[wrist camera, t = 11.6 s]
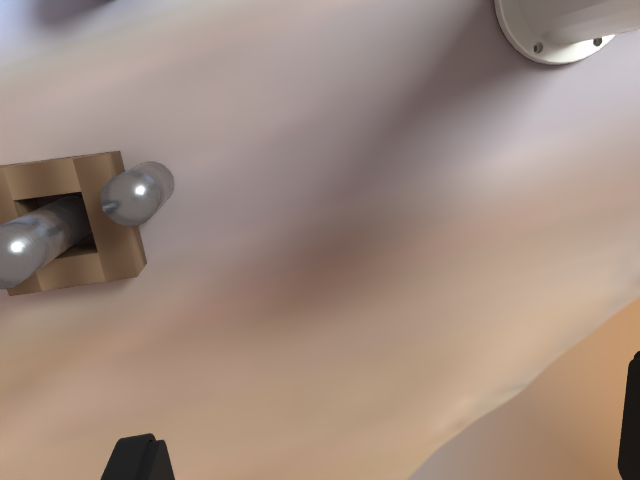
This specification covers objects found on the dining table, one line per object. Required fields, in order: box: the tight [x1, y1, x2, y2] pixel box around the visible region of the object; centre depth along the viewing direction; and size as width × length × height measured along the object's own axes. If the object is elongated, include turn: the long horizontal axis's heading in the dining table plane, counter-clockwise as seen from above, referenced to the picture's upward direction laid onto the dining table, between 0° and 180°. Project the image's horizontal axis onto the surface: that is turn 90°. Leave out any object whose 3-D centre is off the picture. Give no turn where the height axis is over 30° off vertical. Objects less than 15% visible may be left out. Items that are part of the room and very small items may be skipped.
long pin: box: [0, 196, 92, 289], centre depth 33 cm, size 4×4×12 cm
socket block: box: [0, 151, 147, 296], centre depth 37 cm, size 10×10×4 cm
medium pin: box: [100, 162, 174, 226], centre depth 35 cm, size 4×4×8 cm
